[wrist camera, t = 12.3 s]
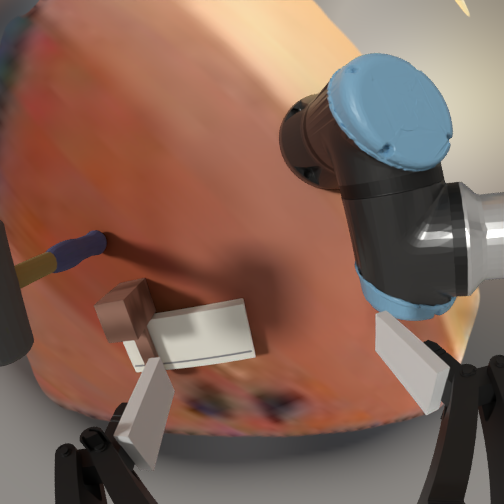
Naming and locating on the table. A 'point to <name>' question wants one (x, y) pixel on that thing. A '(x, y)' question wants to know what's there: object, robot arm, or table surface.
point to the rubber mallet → (16, 277)
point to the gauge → (128, 316)
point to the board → (198, 336)
